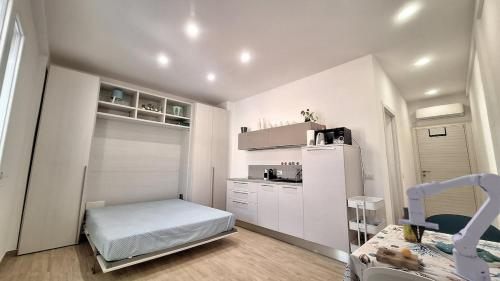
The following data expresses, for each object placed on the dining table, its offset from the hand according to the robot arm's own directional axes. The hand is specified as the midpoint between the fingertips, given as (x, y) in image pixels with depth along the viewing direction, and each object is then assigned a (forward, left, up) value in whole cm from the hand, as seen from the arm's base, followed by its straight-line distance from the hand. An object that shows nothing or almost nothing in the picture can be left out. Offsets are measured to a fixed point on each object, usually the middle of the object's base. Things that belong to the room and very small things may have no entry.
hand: (419, 242), depth 94 cm
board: (+7, +7, -10) cm, 14 cm away
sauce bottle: (+30, -22, -11) cm, 39 cm away
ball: (+4, +4, -6) cm, 8 cm away
